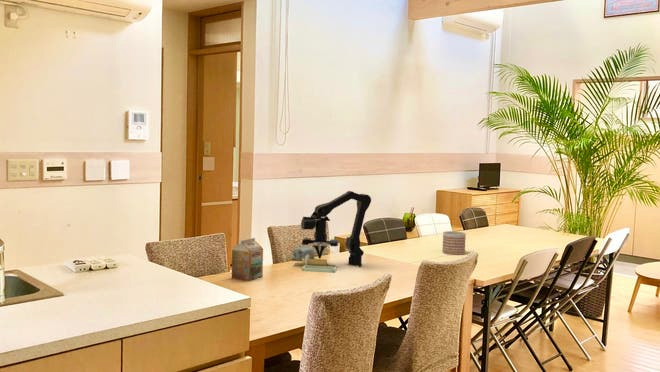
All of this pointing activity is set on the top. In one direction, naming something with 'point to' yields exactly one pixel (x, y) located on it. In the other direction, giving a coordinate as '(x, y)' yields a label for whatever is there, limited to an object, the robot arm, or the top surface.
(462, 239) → the planter
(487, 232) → the top surface
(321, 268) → the tray
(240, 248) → the milk carton
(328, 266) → the holder board
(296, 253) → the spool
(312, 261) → the yellow cylinder
